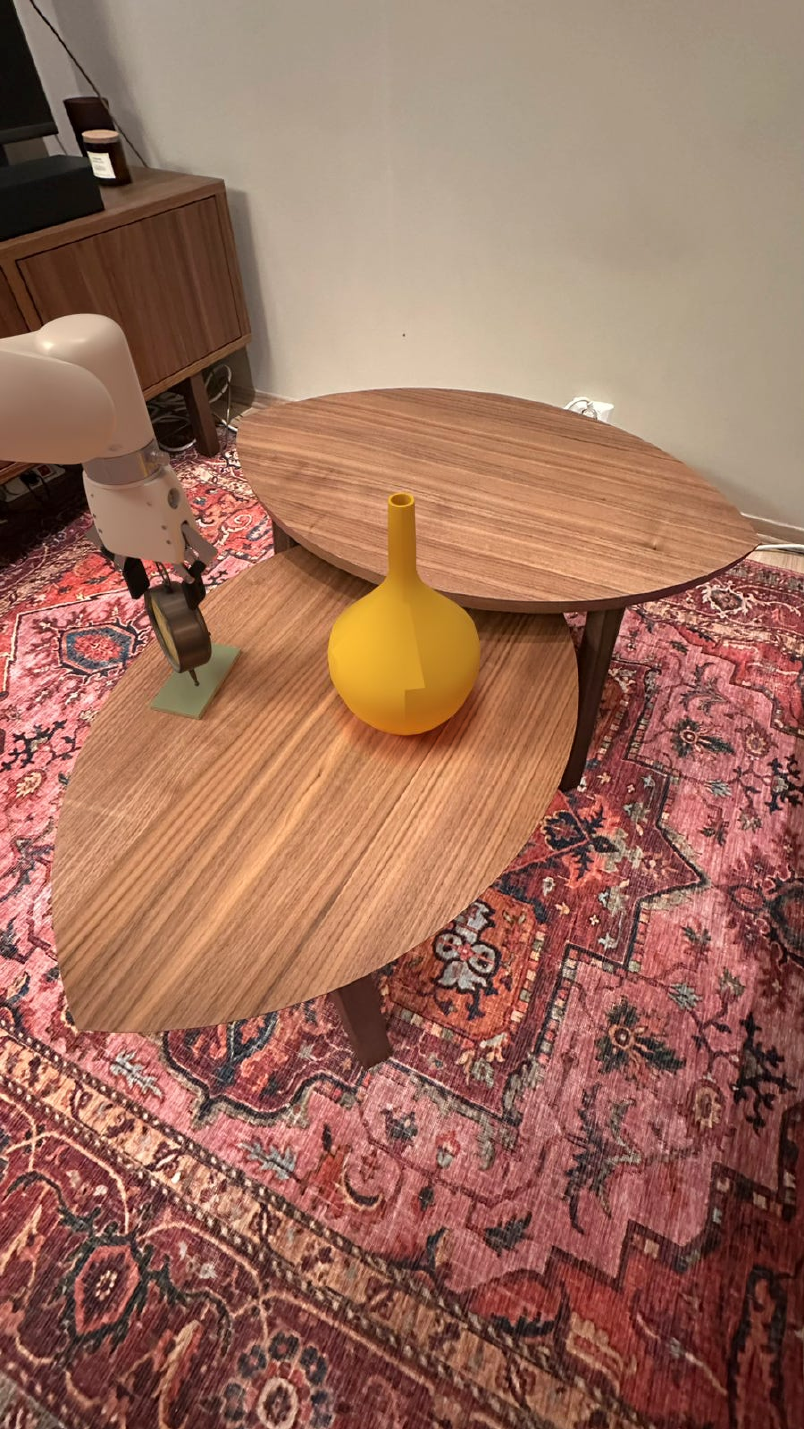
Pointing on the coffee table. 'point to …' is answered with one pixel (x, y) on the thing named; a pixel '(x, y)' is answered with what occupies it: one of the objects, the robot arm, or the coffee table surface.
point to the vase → (404, 643)
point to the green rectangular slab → (192, 699)
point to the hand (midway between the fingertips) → (169, 596)
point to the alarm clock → (178, 626)
